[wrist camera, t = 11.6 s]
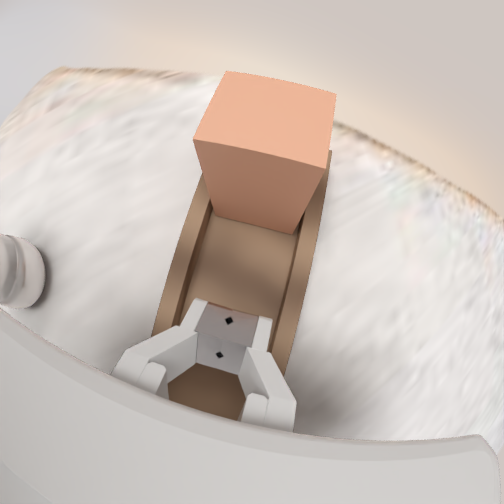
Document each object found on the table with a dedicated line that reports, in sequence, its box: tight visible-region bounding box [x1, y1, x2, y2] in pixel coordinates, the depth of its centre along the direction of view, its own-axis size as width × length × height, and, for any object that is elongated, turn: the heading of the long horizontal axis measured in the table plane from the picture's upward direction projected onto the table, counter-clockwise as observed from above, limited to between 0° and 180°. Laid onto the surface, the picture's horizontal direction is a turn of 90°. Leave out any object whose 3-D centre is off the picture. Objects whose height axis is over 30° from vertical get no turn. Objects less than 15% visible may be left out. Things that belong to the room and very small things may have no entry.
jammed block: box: [193, 71, 336, 235], centre depth 17 cm, size 5×6×10 cm
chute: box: [151, 150, 332, 421], centre depth 19 cm, size 24×9×4 cm, turn 165°
